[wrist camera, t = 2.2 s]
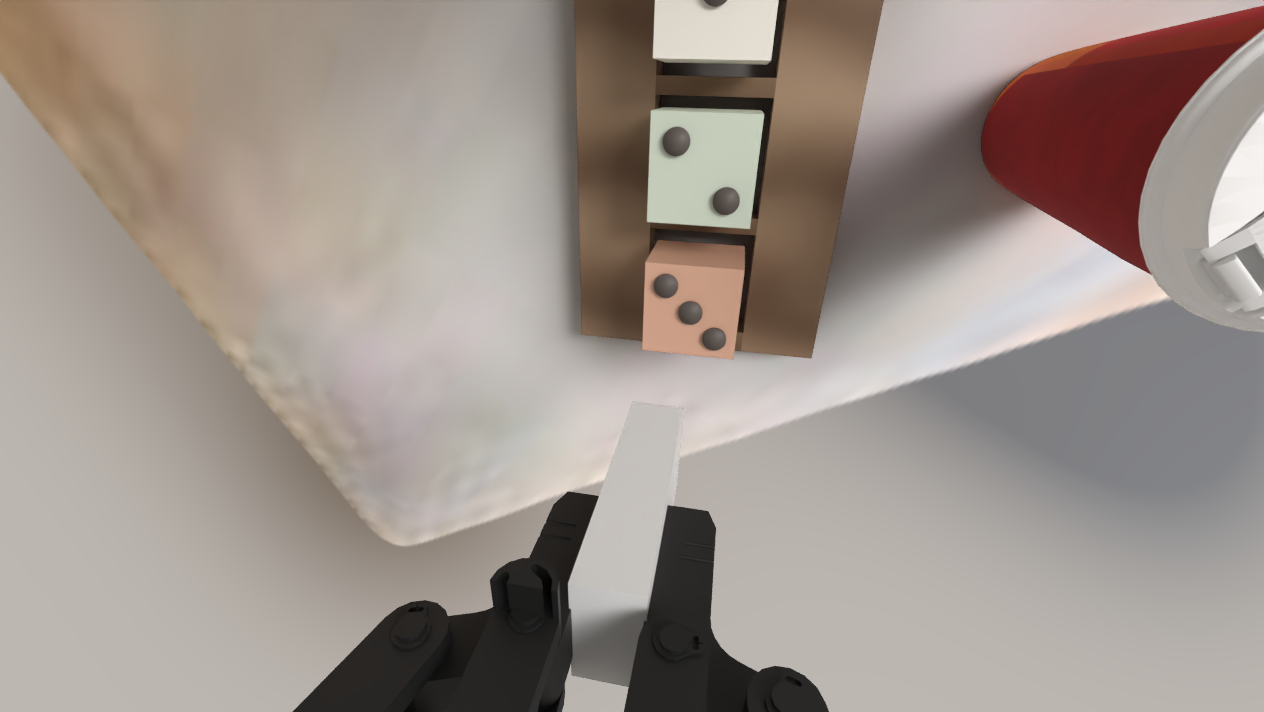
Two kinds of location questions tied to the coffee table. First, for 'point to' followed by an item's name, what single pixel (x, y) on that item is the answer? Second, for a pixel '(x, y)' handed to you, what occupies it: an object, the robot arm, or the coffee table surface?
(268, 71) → the coffee table surface
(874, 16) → the tile board
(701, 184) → the tile two
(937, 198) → the coffee table surface
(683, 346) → the tile three
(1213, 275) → the coffee cup
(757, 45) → the tile one
